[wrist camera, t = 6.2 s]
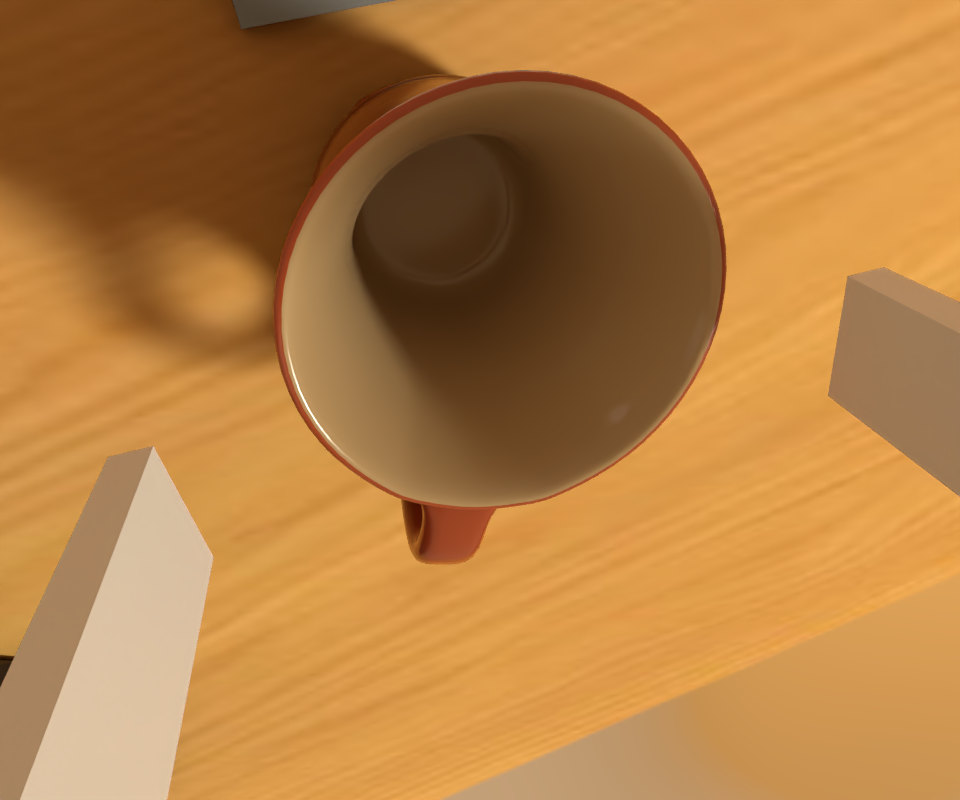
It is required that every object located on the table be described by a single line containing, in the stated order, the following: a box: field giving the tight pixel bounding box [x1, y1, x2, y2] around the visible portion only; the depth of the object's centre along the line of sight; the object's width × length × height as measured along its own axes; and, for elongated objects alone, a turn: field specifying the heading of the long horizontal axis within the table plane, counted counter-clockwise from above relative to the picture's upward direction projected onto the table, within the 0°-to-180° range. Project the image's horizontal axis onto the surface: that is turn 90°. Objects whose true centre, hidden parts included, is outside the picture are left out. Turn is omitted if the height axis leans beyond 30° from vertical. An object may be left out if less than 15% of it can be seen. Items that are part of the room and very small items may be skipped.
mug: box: [273, 70, 727, 564], centre depth 17 cm, size 12×9×10 cm
